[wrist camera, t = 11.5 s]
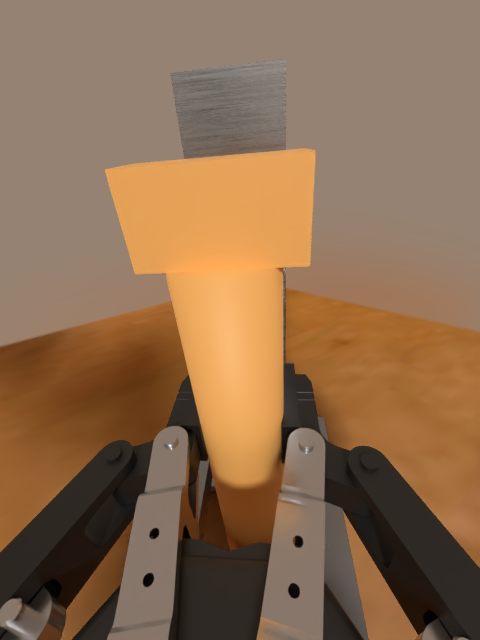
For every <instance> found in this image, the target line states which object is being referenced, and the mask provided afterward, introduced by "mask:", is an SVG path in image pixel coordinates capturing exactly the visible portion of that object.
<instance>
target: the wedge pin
mask: <svg viewBox="0 0 480 640" xmlns="http://www.w3.org/2000/svg"><path fill="white" fill-rule="evenodd" d="M315 154H316V151H314V150H311V149H308V148H302V149H291V150H280V151H269V152H258V153H247V154H235V155H224V156H213V157H202V158H191V159H181V160H169V161H158V162H147V163H136V164H130V165H125V166H120V167H115V168H110V169H106V170H105V173H106V176H107V179H108V183H109V186H110V190H111V193H112V197H113V200H114V203H115V207H116V210H117V213H118V217H119V221H120V224H121V227H122V231H123V234H124V237H125V241H126V244H127V247H128V251H129V255H130V258H131V262H132V265H133V268H134V272H135V274H150V273H165V274H166V278H167V283H168V287H169V291H170V295H171V300H172V304H173V309H174V313H175V317H176V321H177V326H178V330H179V334H180V338H181V343H182V347H183V351H184V356H185V360H186V364H187V368H188V373H189V377H190V381H191V386H192V390H193V394H194V398H195V403H196V407H197V411H198V415H199V420H200V424H201V428H202V433H203V437H204V441H205V445H206V450H207V454H208V458H209V463H210V467H211V471H212V475H213V480H214V484H215V488H216V492H217V497H218V501H219V505H220V510H221V514H222V518H223V522H224V527H225V531H226V535H227V540H228V544H229V548H230V550H233V549H236V548H240V547H244V546H248V545H252V544H256V543H270V544H272V537H273V530H274V523H275V516H276V509H277V503H278V496H279V492H280V490H281V485H282V479H283V471H284V463H282V446H281V422H282V419H283V413H284V380H283V267H303V266H310V256H311V255H310V254H311V235H312V215H313V193H314V175H315Z"/></svg>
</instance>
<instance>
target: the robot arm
mask: <svg viewBox="0 0 480 640" xmlns="http://www.w3.org/2000/svg"><path fill="white" fill-rule="evenodd" d="M283 380H284V413H283V419H282V422H281V446H282V463H285V464H284V471H283V479H282V485H281V490H280V492H279V496H278V503H277V509H276V516H275V523H274V530H273V537H272V544H270V543H256V544H252V545H248V546H244V547H240V548H236V549H233V550H224V549H221V548H219V547H216V546H214V545H211V544H209V543H206V542H204V541H201V540H200V537H199V528H198V498H199V474H198V470H199V465H200V461H208V454H207V450H206V445H205V441H204V437H203V433H202V428H201V424H200V420H199V415H198V411H197V407H196V403H195V398H194V394H193V390H192V386H191V381H190V377H189V375H188V376H187V377H186V379H185V380H184V381H183V382H182V384H181V386H180V389H179V393H178V395H177V398H176V401H175V404H174V407H173V410H172V413H171V416H170V418H169V421H168V424H167V427H166V428H165V429H163V430H162V431H161V432H159V433H158V435H157V436H156V437H155V439H154V440H153V441H151V442H148V443H145V444H142V445H138V446H134V447H132V445H131V444H130V443H129V442H127V441H124V440H119V441H114V442H112V443H110V444H108V445H107V446H105V447H104V448H103V449H102V450H101V451H100V452H99V453H98V454H97V455H96V456H95V457H94V458H93V459H92V460H91V461H90V462H89V463H88V464H87V465H86V466H85V467H84V468H83V469H82V470H81V471H80V472H79V473H78V474H77V475H76V476H75V477H74V478H73V479H72V480H71V481H70V482H69V483H68V484H67V485H66V486H65V487H64V489H63V490H62V491H61V492H60V493H59V494H58V495H57V496H56V497H55V498H54V499H53V500H52V501H51V502H50V503H49V504H48V505H47V506H46V507H45V508H44V509H43V510H42V511H41V512H40V513H39V514H38V515H37V516H36V517H35V518H34V519H33V520H32V521H31V522H30V523H29V524H28V525H27V526H26V527H25V528H24V529H23V530H22V531H21V532H20V533H19V534H18V535H17V536H16V537H15V538H14V539H13V540H12V541H11V542H10V543H9V544H8V545H7V546H6V547H5V548H4V549H3V550H2V551H1V552H0V640H60V639H61V636H62V632H63V629H64V625H65V621H66V609H67V608H68V606H69V605H70V603H71V602H72V601H73V599H74V598H75V597H76V595H77V594H78V593H79V591H80V590H81V589H82V587H83V586H84V584H85V583H86V582H87V580H88V579H89V578H90V576H91V575H92V574H93V572H94V571H95V569H96V568H97V567H98V565H99V564H100V563H101V561H102V560H103V559H104V557H105V556H106V555H107V553H108V552H109V550H110V549H111V548H112V546H113V545H114V544H115V542H116V541H117V540H118V538H119V537H120V535H121V534H122V533H123V531H124V530H125V529H126V527H127V526H128V525H129V523H130V522H131V521H132V519H133V518H134V519H133V525H132V530H131V535H130V540H129V546H128V551H127V556H126V561H125V567H124V572H123V577H122V583H121V585H120V586H119V587H118V588H117V589H116V591H115V592H114V593H113V594H112V595H111V596H110V597H109V598H108V600H107V601H106V602H105V603H104V604H103V605H102V606H101V607H100V609H99V610H98V611H97V612H96V613H95V614H94V615H93V616H92V618H91V619H90V620H89V621H88V622H87V623H86V624H85V625H84V627H83V628H82V629H81V630H80V631H79V632H78V633H77V634H76V636H75V637H74V638H73V639H72V640H364V639H363V637H362V636H361V634H360V633H359V631H358V630H357V628H356V627H355V625H354V624H353V622H352V621H351V619H350V618H349V616H348V615H347V613H346V612H345V611H344V609H343V608H342V606H341V605H340V603H339V602H338V600H337V599H336V597H335V596H334V594H333V593H332V591H331V590H330V588H329V587H328V585H327V584H326V583H325V581H324V551H325V502H327V503H330V504H333V505H335V506H338V507H340V508H342V509H343V511H344V513H345V514H346V516H347V518H348V519H349V521H350V523H351V524H352V526H353V528H354V529H355V531H356V533H357V534H358V536H359V538H360V539H361V541H362V543H363V544H364V546H365V548H366V549H367V551H368V553H369V554H370V556H371V558H372V559H373V561H374V563H375V564H376V566H377V567H378V569H379V571H380V572H381V574H382V576H383V577H384V579H385V581H386V582H387V584H388V586H389V587H390V589H391V591H392V592H393V594H394V596H395V597H396V599H397V601H398V602H399V604H400V606H401V607H402V609H403V611H404V612H405V614H406V616H407V617H408V619H409V621H410V622H411V624H412V626H413V627H414V629H415V630H416V632H417V634H418V637H417V638H416V639H415V640H480V568H479V567H478V566H477V565H476V564H475V562H474V561H473V560H472V559H471V558H470V556H469V555H468V554H467V553H466V552H465V551H464V549H463V548H462V547H461V546H460V545H459V543H458V542H457V541H456V540H455V539H454V537H453V536H452V535H451V534H450V533H449V532H448V530H447V529H446V528H445V527H444V526H443V524H442V523H441V522H440V521H439V520H438V519H437V517H436V516H435V515H434V514H433V513H432V511H431V510H430V509H429V508H428V507H427V506H426V504H425V503H424V502H423V501H422V500H421V498H420V497H419V496H418V495H417V494H416V493H415V491H414V490H413V489H412V488H411V487H410V485H409V484H408V483H407V482H406V481H405V480H404V478H403V477H402V476H401V475H400V474H399V472H398V471H397V470H396V469H395V468H394V467H393V465H392V464H391V463H390V462H389V461H388V459H387V458H386V457H385V456H384V455H383V454H382V453H381V452H379V451H378V450H376V449H374V448H372V447H368V446H358V447H355V448H353V449H352V450H351V451H349V450H346V449H343V448H340V447H337V446H335V445H333V444H331V443H330V442H328V441H327V440H326V439H325V438H324V437H323V435H322V434H321V431H320V428H319V422H318V416H317V411H316V405H315V401H314V394H313V388H312V383H311V381H310V380H309V379H308V377H307V376H306V375H305V374H295V370H294V363H287V364H283Z"/></svg>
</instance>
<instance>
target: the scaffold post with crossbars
mask: <svg viewBox="0 0 480 640" xmlns="http://www.w3.org/2000/svg"><path fill="white" fill-rule="evenodd" d="M171 80H172V86H173V92H174V98H175V105H176V111H177V116H178V123H179V130H180V136H181V142H182V148H183V154H184V159H191V158H202V157H213V156H224V155H235V154H247V153H258V152H269V151H280V150H286V59H280V60H272V61H264V62H256V63H248V64H240V65H232V66H224V67H216V68H209V69H200V70H192V71H184V72H175V73H171ZM285 329H286V267H283V364H285ZM318 422H319V428H320V431H321V434H322V435H323V437H324V438H325V439H326V440H327V441H328V442H329V440H328V435H327V430H326V425H325V420H324V417H318ZM284 464H285V463H284ZM198 474H199V498H198V528H199V537H200V540H201V541H203V535H204V529H205V522H206V516H207V510H208V503H209V497H210V492H216V488H215V484H214V480H213V475H212V471H211V467H210V463H209V458H208V461H200V465H199V470H198ZM324 581H325V583H326V584H327V585H328V587H329V588H330V590H331V591H332V593H333V594H334V596H335V597H336V599H337V600H338V602H339V603H340V605H341V606H342V608H343V609H344V611H345V612H346V613H347V615H348V616H349V618H350V619H351V621H352V622H353V624H354V625H355V627H356V628H357V630H358V631H359V633H360V634H361V636H362V637H363V639H364V640H369V639H368V634H367V629H366V624H365V619H364V614H363V609H362V604H361V599H360V594H359V590H358V585H357V580H356V575H355V570H354V565H353V560H352V555H351V550H350V545H349V540H348V535H347V530H346V525H345V520H344V515H343V510H342V508H340V507H338V506H335V505H333V504H330V503H327V502H325V551H324Z"/></svg>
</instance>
